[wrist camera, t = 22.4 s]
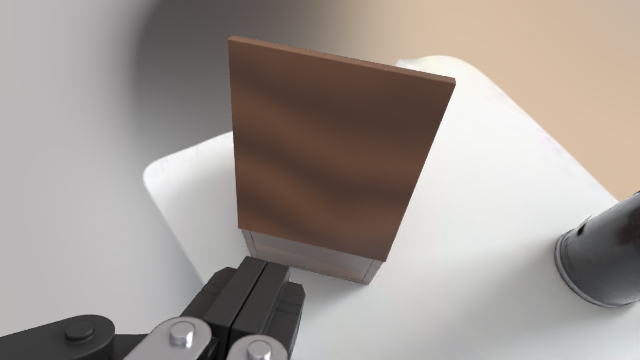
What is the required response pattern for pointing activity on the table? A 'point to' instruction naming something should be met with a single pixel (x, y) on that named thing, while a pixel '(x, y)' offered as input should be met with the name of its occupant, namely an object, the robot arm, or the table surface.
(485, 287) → the table surface
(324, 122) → the lid
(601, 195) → the table surface
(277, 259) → the chest
